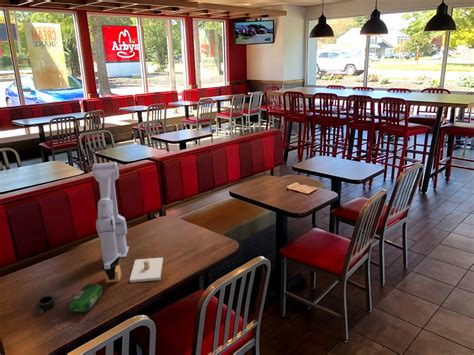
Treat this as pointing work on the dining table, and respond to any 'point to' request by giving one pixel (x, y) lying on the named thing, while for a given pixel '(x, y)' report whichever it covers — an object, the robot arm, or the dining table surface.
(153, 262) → the post plate
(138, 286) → the dining table surface
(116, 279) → the tan wooden block
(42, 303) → the duct tape
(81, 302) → the snack package
